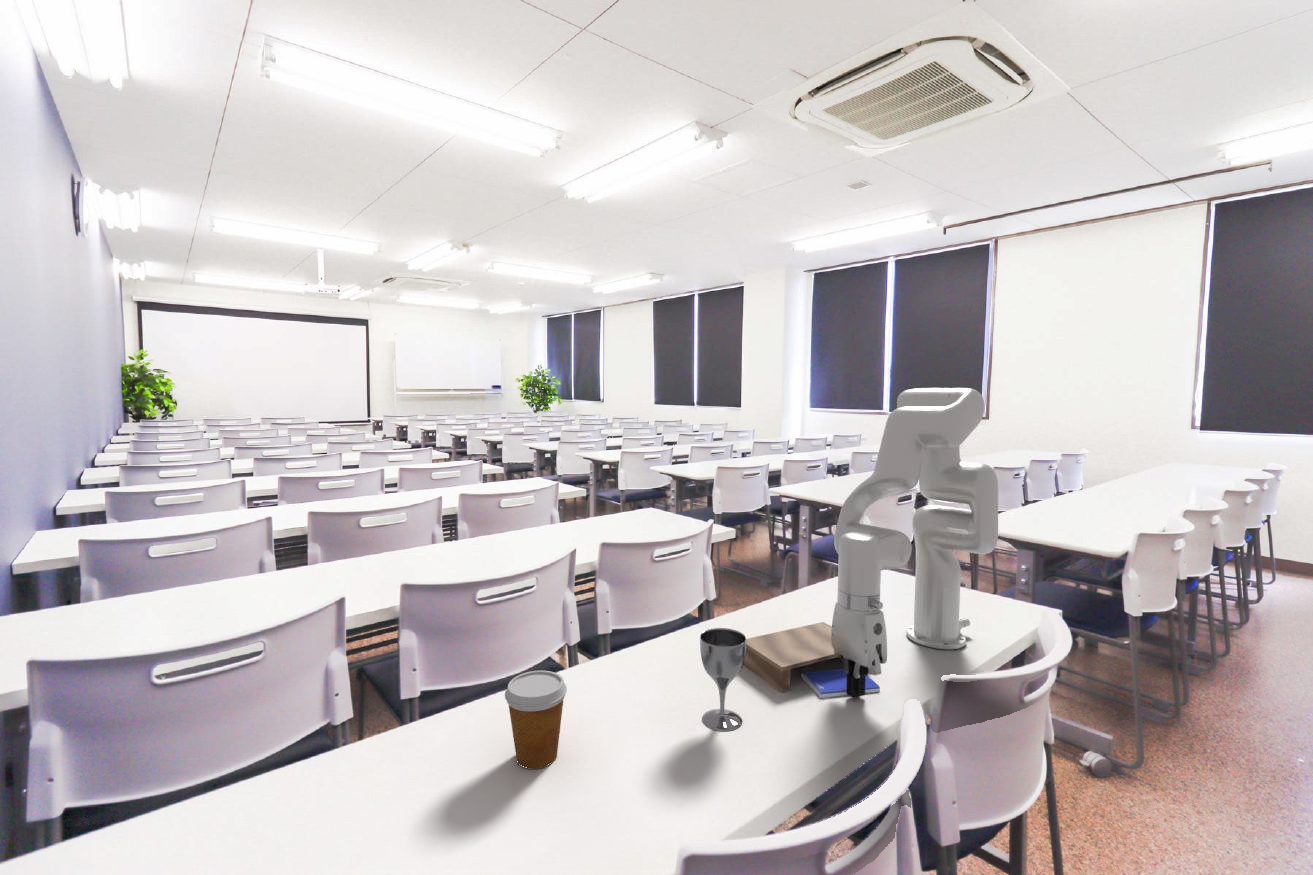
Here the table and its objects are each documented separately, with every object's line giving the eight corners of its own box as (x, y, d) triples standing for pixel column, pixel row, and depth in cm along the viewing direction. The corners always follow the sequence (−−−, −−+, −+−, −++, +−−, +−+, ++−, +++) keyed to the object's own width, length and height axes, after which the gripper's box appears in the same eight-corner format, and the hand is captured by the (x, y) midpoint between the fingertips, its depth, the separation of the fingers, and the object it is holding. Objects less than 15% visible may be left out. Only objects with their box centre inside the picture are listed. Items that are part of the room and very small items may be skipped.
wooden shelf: (822, 642, 135) (823, 621, 135) (869, 668, 122) (869, 644, 122) (740, 662, 125) (740, 640, 124) (781, 692, 112) (782, 667, 112)
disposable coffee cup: (538, 784, 85) (537, 705, 85) (492, 762, 91) (491, 687, 90) (579, 751, 94) (579, 678, 93) (536, 732, 99) (535, 663, 98)
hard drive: (820, 691, 110) (880, 685, 113) (801, 671, 118) (857, 666, 121) (820, 699, 110) (879, 693, 113) (801, 679, 118) (857, 674, 121)
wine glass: (715, 737, 97) (716, 650, 96) (691, 714, 104) (691, 632, 103) (754, 725, 101) (755, 641, 100) (728, 703, 108) (728, 624, 107)
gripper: (905, 609, 104) (902, 708, 105) (843, 585, 117) (841, 673, 119) (875, 616, 101) (872, 718, 102) (815, 590, 114) (813, 681, 115)
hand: (855, 694), depth 110 cm, fingers closed
